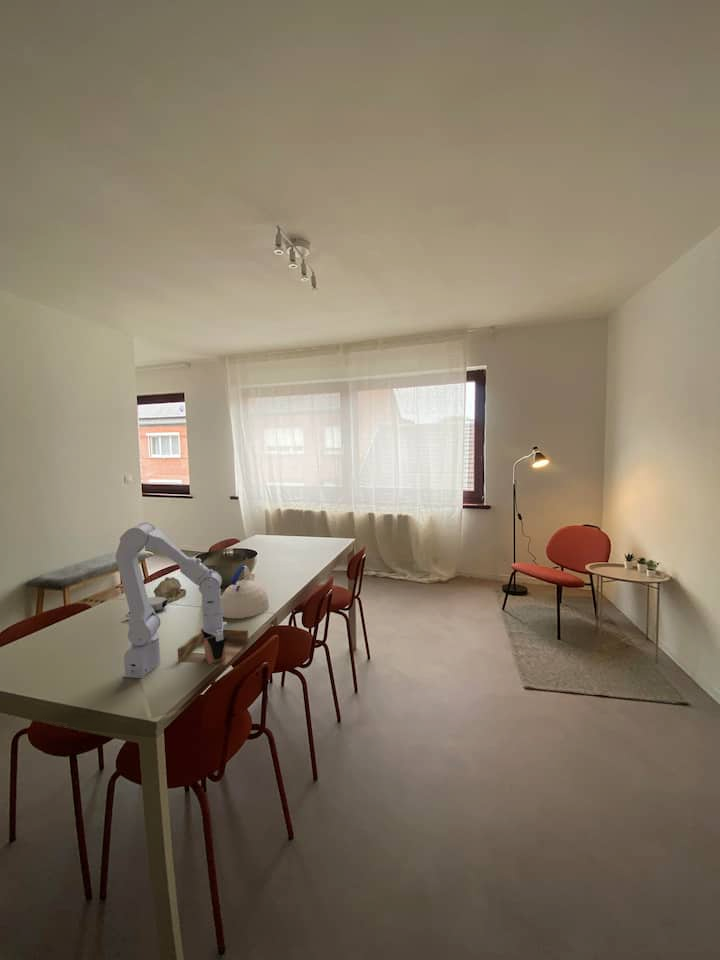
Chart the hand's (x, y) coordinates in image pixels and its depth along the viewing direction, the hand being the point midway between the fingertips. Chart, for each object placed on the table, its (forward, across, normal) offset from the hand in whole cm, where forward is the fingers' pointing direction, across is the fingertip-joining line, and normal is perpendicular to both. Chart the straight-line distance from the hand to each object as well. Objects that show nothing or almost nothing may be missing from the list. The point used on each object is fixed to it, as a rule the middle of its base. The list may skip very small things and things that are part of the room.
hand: (215, 654), depth 123 cm
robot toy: (+2, +56, +12) cm, 58 cm away
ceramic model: (+2, +69, +3) cm, 69 cm away
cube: (+1, 0, 0) cm, 1 cm away
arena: (+2, +5, -1) cm, 5 cm away
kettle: (+2, +36, -21) cm, 41 cm away
